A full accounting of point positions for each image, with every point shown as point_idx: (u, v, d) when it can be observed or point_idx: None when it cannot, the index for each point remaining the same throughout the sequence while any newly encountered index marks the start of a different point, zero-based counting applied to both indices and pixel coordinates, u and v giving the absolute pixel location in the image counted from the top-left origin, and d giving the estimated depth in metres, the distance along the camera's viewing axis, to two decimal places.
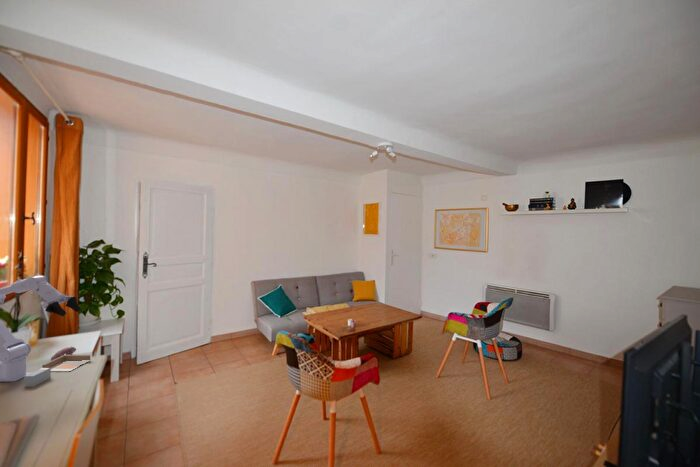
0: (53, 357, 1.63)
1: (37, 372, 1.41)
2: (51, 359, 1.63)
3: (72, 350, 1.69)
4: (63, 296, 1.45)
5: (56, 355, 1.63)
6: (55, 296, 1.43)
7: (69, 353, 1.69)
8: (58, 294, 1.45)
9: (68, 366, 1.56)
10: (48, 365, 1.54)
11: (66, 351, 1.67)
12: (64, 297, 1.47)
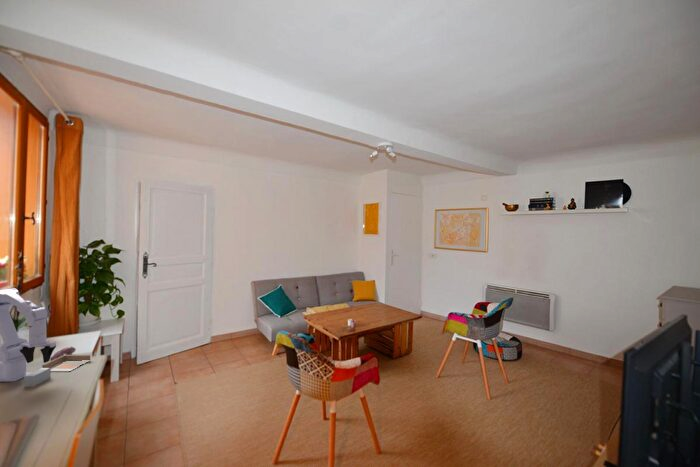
0: (53, 357, 1.63)
1: (37, 372, 1.41)
2: (51, 359, 1.63)
3: (72, 350, 1.69)
4: (32, 346, 1.38)
5: (56, 355, 1.63)
6: (29, 342, 1.39)
7: (69, 353, 1.69)
8: (31, 342, 1.38)
9: (68, 366, 1.56)
10: (48, 365, 1.54)
11: (66, 351, 1.67)
12: None
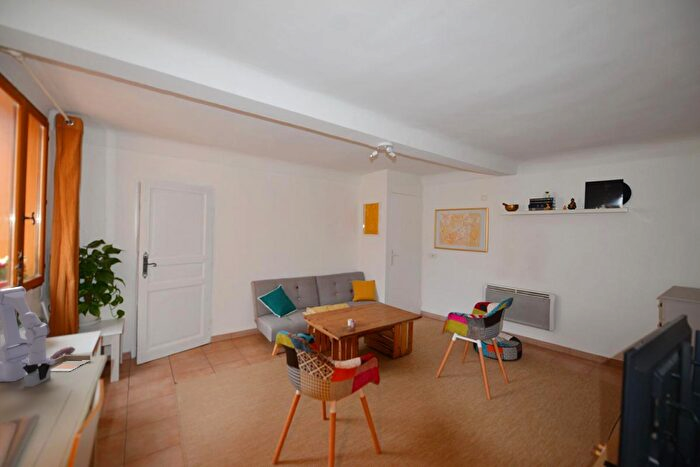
0: (52, 357, 1.63)
1: (37, 372, 1.41)
2: None
3: (71, 350, 1.69)
4: None
5: (55, 355, 1.63)
6: (29, 360, 1.39)
7: (68, 353, 1.69)
8: (30, 359, 1.39)
9: (68, 366, 1.56)
10: None
11: (65, 351, 1.67)
12: None
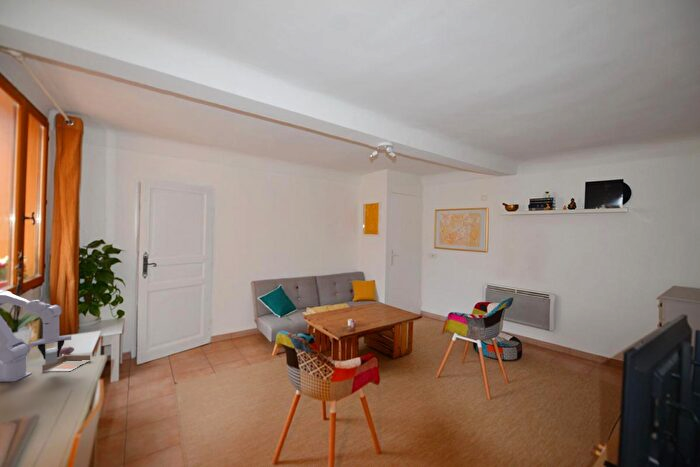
0: None
1: (52, 350, 1.48)
2: None
3: (70, 350, 1.70)
4: (52, 342, 1.46)
5: None
6: (46, 339, 1.45)
7: (67, 353, 1.69)
8: (50, 338, 1.46)
9: (68, 366, 1.56)
10: (48, 365, 1.54)
11: (64, 351, 1.67)
12: None
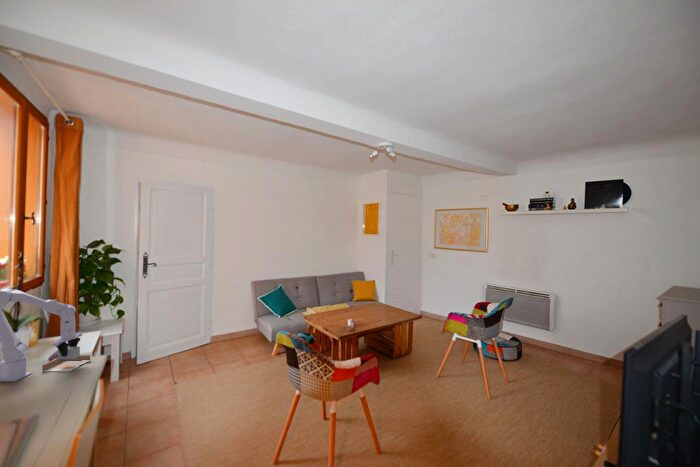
0: (51, 357, 1.63)
1: (70, 347, 1.57)
2: (49, 359, 1.63)
3: None
4: None
5: (54, 355, 1.63)
6: (69, 336, 1.55)
7: None
8: (72, 334, 1.56)
9: (68, 366, 1.56)
10: (48, 365, 1.54)
11: None
12: None
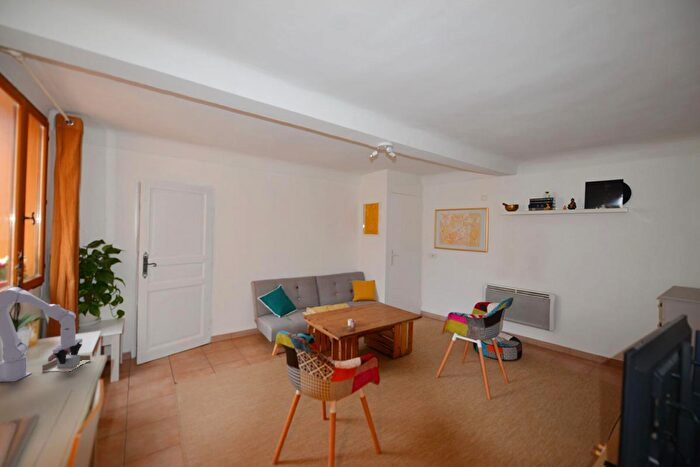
0: (50, 357, 1.63)
1: (70, 356, 1.57)
2: (48, 359, 1.63)
3: (69, 350, 1.70)
4: None
5: (53, 355, 1.63)
6: (69, 343, 1.55)
7: None
8: (72, 341, 1.56)
9: None
10: (48, 365, 1.54)
11: None
12: None
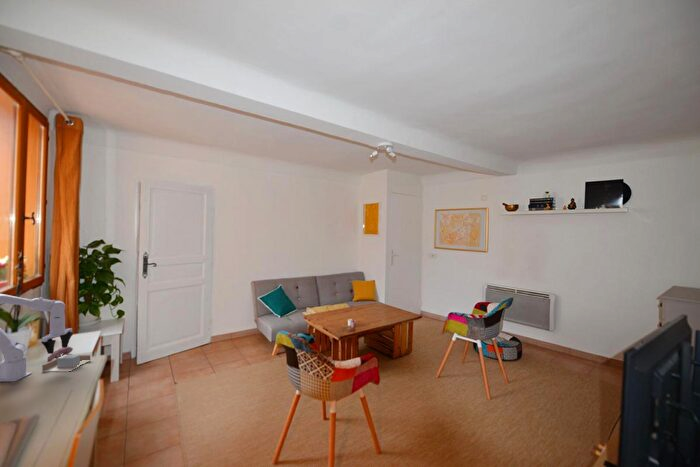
0: (50, 357, 1.63)
1: (70, 356, 1.57)
2: (48, 359, 1.63)
3: (69, 350, 1.70)
4: None
5: (53, 355, 1.63)
6: (58, 332, 1.53)
7: (66, 353, 1.69)
8: (62, 330, 1.55)
9: None
10: (48, 365, 1.54)
11: (63, 351, 1.67)
12: None
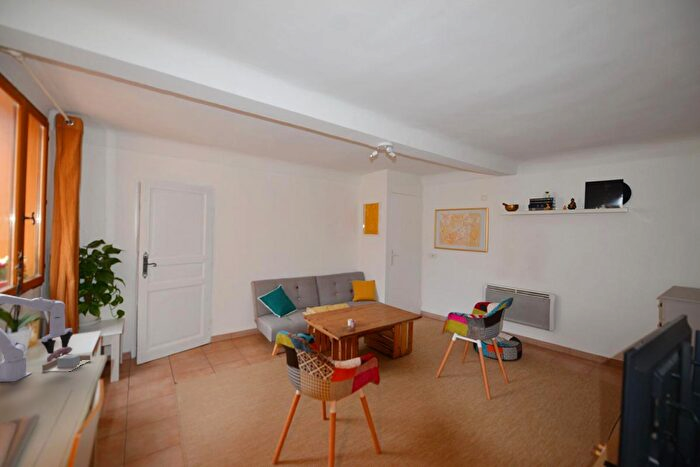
0: (49, 357, 1.63)
1: (70, 356, 1.57)
2: (47, 359, 1.63)
3: (68, 350, 1.70)
4: None
5: (52, 355, 1.63)
6: (58, 332, 1.53)
7: (65, 353, 1.69)
8: (62, 330, 1.55)
9: None
10: (48, 365, 1.54)
11: (62, 351, 1.67)
12: None
